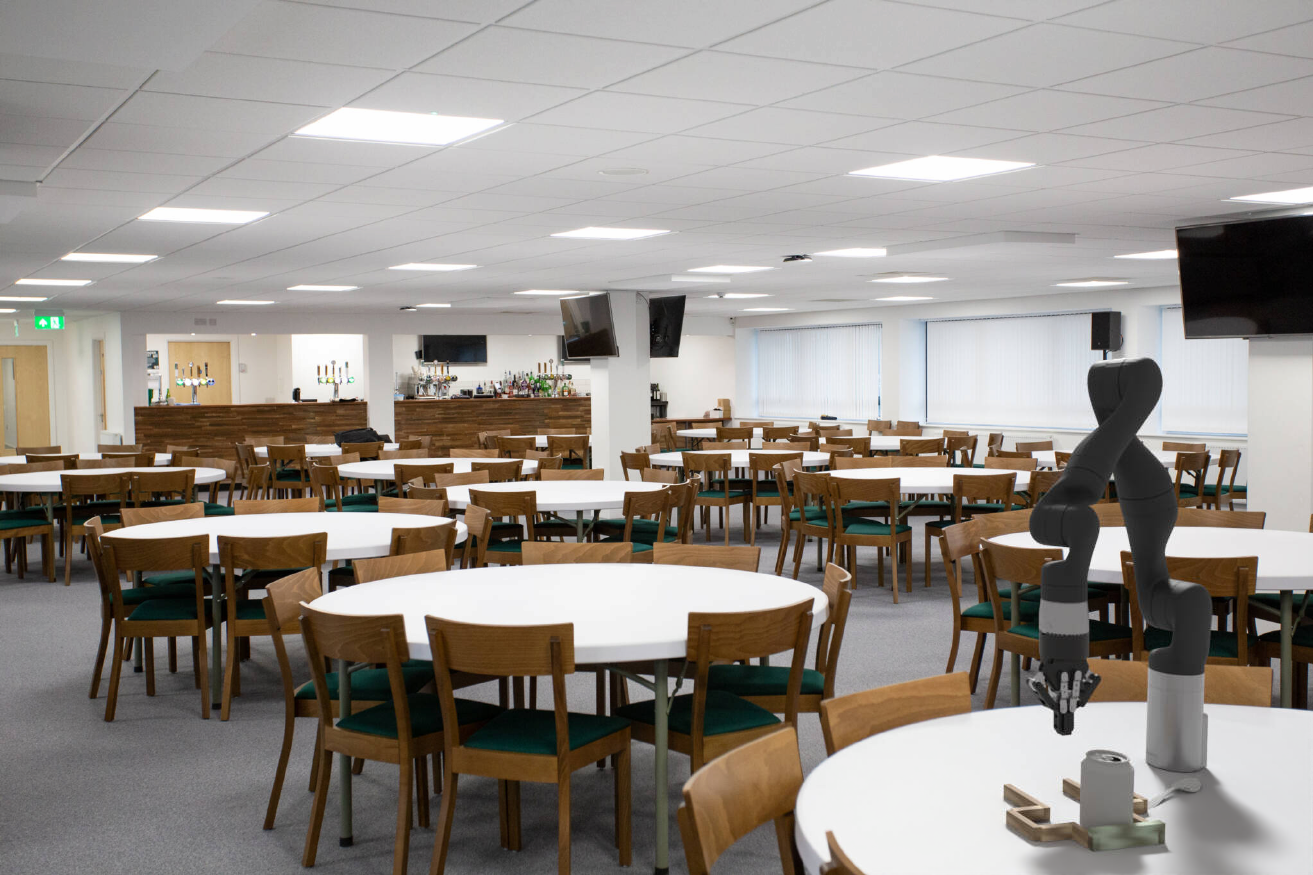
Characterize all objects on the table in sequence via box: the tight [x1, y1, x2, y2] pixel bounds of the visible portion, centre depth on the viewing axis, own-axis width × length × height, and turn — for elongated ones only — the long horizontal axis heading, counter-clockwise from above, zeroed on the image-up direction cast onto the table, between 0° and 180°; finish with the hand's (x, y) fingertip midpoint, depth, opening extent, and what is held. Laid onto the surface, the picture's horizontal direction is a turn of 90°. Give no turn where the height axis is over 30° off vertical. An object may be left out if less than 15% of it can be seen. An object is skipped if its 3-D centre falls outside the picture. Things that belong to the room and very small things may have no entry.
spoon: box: [1148, 777, 1202, 810], centre depth 184 cm, size 4×21×2 cm, turn 129°
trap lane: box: [1003, 777, 1166, 852], centre depth 175 cm, size 25×23×3 cm
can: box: [1079, 749, 1135, 830], centre depth 169 cm, size 8×8×12 cm
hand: (1063, 733), depth 180 cm, fingers closed
